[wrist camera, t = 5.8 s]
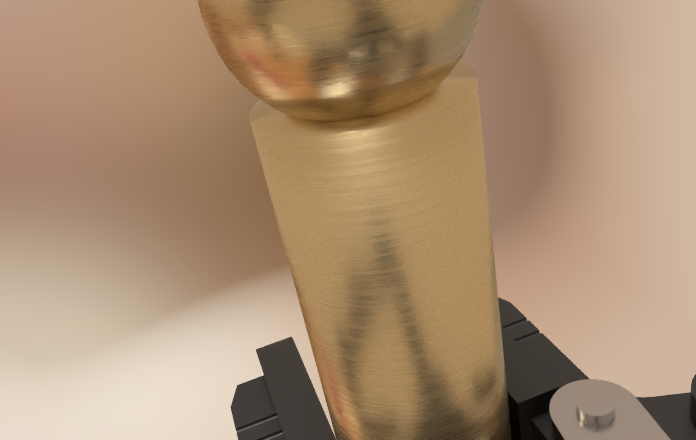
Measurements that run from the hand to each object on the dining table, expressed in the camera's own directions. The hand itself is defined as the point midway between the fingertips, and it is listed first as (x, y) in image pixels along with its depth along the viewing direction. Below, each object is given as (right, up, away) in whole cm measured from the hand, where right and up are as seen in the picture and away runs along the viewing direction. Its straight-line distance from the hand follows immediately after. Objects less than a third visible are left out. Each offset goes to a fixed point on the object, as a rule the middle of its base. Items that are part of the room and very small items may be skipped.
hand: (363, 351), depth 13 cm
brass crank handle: (+4, -14, +12) cm, 19 cm away
